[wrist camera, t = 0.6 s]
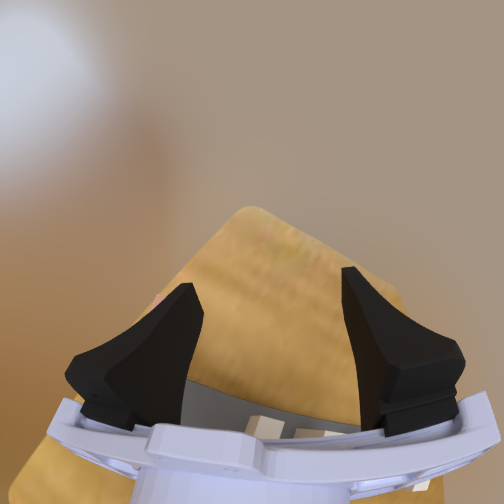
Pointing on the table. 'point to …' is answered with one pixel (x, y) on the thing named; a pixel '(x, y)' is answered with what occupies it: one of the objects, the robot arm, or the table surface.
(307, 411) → the table surface
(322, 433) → the domino
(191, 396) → the mat
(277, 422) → the domino
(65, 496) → the table surface
